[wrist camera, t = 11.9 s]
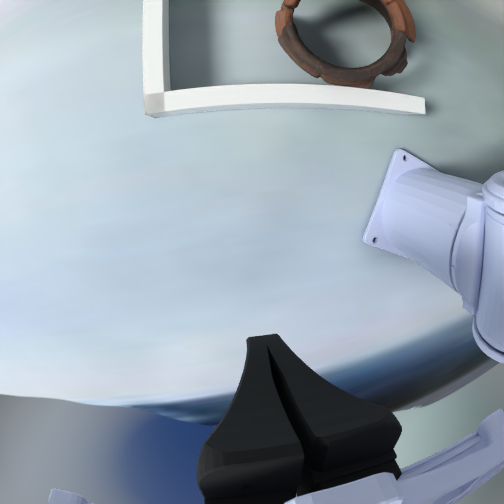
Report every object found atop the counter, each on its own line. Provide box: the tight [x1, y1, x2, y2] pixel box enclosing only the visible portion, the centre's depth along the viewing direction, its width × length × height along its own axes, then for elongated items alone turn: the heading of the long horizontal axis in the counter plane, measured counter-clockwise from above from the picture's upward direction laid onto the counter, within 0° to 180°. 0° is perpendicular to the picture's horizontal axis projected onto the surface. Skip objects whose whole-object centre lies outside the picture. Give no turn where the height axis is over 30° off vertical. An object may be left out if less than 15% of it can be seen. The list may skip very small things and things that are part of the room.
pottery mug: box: [275, 0, 415, 89], centre depth 14 cm, size 12×10×8 cm
